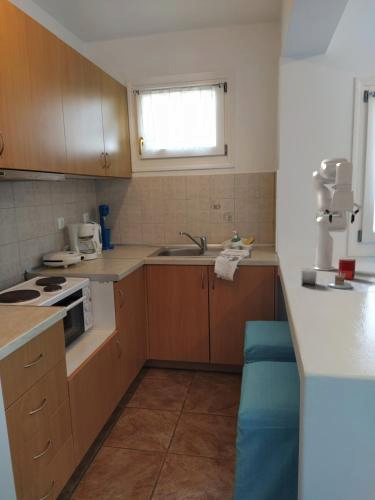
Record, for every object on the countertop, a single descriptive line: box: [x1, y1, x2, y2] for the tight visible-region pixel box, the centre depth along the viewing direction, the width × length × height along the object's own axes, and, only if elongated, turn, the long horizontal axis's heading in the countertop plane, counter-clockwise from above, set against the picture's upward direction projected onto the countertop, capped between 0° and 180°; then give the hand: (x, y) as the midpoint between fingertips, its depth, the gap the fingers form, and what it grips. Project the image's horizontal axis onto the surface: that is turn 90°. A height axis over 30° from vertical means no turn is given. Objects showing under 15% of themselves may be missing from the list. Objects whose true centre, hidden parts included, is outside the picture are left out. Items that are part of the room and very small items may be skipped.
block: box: [334, 274, 345, 285], centre depth 177 cm, size 4×4×4 cm
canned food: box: [337, 256, 357, 281], centre depth 194 cm, size 8×8×11 cm
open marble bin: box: [300, 267, 318, 288], centre depth 181 cm, size 7×7×8 cm
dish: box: [326, 280, 352, 290], centre depth 178 cm, size 11×11×1 cm
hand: (341, 223), depth 182 cm, fingers open, 9 cm apart
